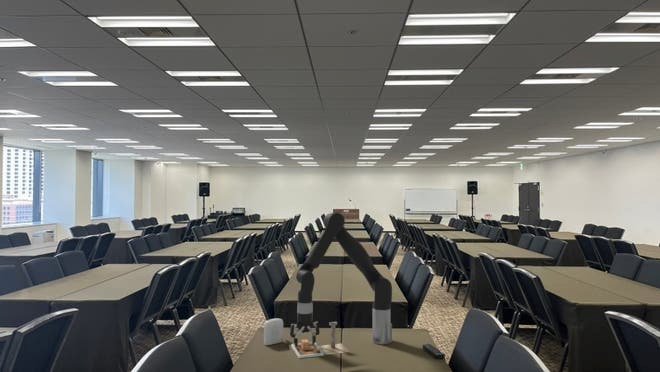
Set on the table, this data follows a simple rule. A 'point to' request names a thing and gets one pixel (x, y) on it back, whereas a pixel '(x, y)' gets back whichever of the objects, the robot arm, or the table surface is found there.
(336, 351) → the stake board
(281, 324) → the photo printer
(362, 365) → the table surface
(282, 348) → the table surface
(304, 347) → the terracotta ring
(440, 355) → the multiport hub
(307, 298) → the robot arm
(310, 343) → the white tray
